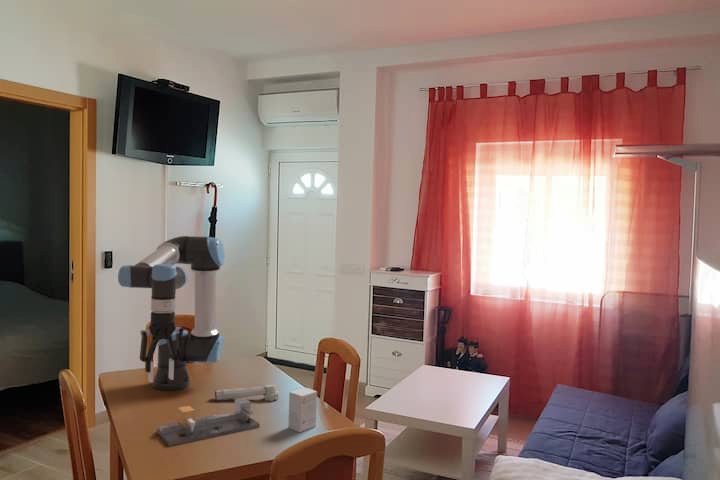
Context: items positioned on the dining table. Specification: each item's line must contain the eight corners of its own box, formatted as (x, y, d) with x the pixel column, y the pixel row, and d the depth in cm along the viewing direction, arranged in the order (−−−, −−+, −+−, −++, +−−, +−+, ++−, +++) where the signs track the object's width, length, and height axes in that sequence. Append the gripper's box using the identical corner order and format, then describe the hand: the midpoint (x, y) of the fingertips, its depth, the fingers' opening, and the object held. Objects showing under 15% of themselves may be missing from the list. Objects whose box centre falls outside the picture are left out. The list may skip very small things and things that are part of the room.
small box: (303, 421, 204) (305, 386, 204) (316, 426, 200) (317, 391, 200) (287, 427, 198) (289, 391, 198) (299, 432, 194) (301, 396, 194)
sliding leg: (177, 424, 192) (178, 407, 192) (188, 422, 195) (189, 405, 194) (187, 433, 185) (187, 416, 184) (198, 431, 187) (199, 414, 187)
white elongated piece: (215, 388, 226) (277, 380, 230) (217, 404, 226) (279, 395, 230) (214, 393, 220) (277, 384, 224) (216, 409, 221) (279, 400, 225)
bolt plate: (156, 432, 188) (156, 412, 188) (243, 415, 208) (244, 397, 207) (168, 446, 178) (169, 425, 178) (259, 427, 197) (260, 408, 197)
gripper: (136, 315, 175) (134, 387, 176) (195, 311, 187) (192, 379, 188) (129, 311, 181) (127, 381, 182) (187, 307, 193) (185, 373, 194)
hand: (160, 379), depth 185 cm, fingers open, 6 cm apart
